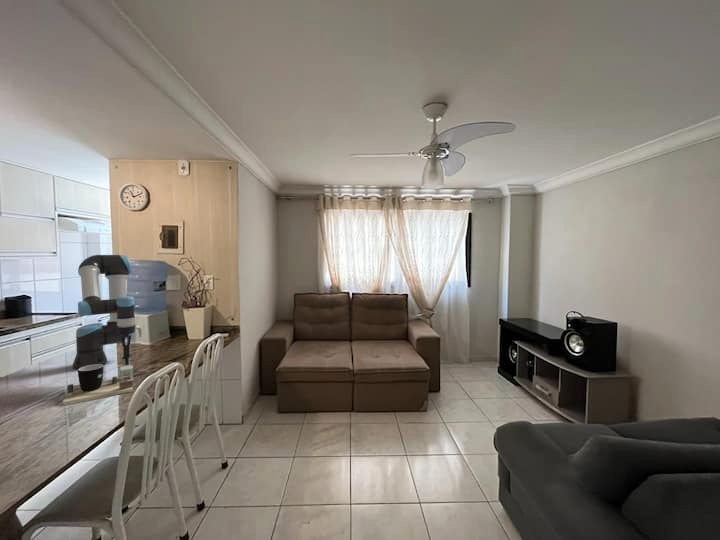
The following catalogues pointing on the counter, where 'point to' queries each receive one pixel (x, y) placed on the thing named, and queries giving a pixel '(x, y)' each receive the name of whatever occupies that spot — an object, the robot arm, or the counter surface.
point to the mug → (90, 377)
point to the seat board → (99, 390)
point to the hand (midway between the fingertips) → (127, 370)
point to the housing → (126, 369)
